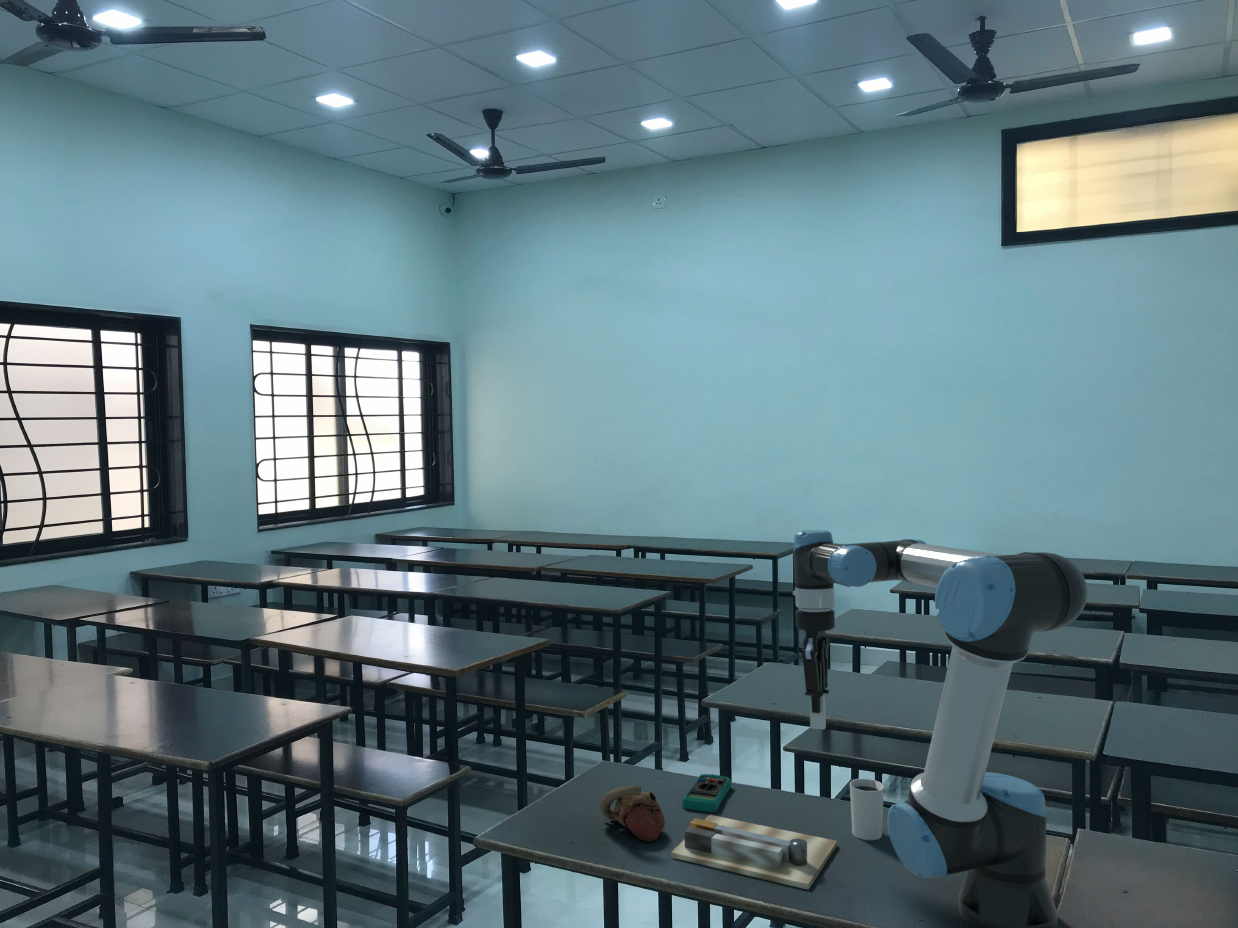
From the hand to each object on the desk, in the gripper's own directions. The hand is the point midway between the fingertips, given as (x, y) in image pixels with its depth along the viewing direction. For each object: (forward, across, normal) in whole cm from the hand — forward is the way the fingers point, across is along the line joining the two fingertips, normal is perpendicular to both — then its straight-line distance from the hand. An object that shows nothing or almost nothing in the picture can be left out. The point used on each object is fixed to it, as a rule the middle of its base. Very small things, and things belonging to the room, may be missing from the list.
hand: (818, 727), depth 177 cm
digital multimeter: (+23, -12, -28) cm, 38 cm away
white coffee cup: (+23, -8, +7) cm, 26 cm away
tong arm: (+22, +11, -12) cm, 27 cm away
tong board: (+23, +9, -11) cm, 27 cm away
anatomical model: (+23, +10, -36) cm, 44 cm away
